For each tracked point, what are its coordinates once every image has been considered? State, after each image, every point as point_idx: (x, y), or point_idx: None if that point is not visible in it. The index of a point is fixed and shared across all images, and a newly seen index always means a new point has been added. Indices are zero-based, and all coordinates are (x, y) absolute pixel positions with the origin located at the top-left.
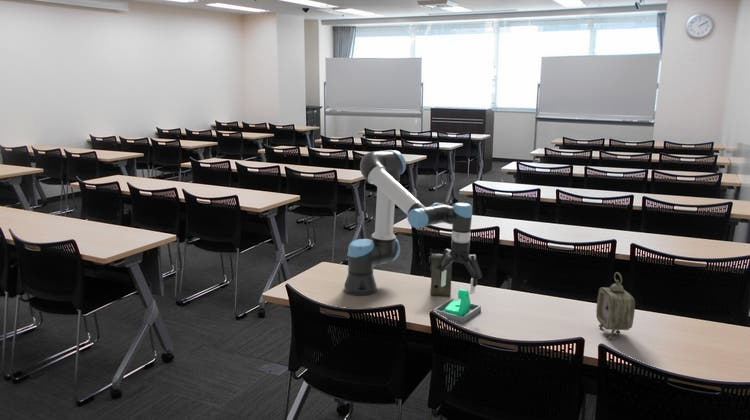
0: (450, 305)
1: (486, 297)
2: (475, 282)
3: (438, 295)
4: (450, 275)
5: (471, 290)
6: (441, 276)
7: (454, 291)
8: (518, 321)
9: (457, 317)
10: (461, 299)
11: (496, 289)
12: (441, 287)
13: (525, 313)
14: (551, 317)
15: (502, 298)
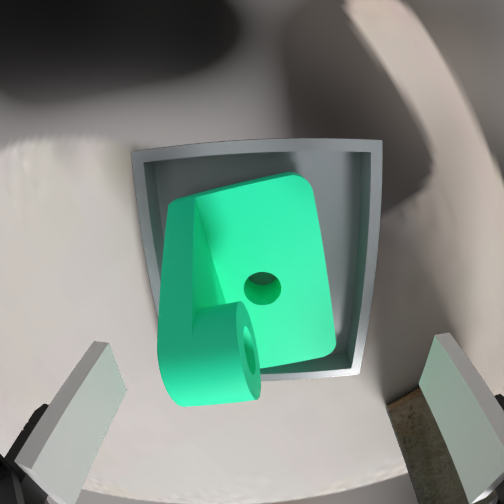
0: (308, 265)
1: (253, 462)
2: (19, 437)
3: None
4: (418, 484)
5: (79, 367)
6: (497, 412)
7: (384, 440)
8: (29, 341)
9: (177, 146)
10: (188, 282)
11: (263, 500)
12: None
13: None
14: (22, 406)
15: (204, 472)
